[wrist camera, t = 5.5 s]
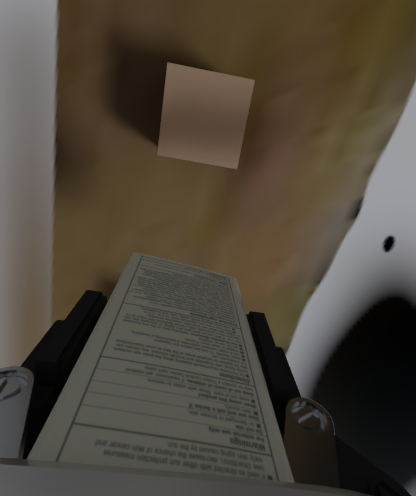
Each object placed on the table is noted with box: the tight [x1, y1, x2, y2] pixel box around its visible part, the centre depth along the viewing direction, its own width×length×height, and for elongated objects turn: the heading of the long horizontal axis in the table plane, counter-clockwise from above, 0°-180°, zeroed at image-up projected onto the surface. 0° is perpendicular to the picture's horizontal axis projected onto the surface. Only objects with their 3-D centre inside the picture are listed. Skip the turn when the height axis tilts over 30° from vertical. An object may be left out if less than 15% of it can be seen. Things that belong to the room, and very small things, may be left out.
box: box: [27, 252, 294, 483], centre depth 9 cm, size 5×4×11 cm
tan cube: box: [157, 62, 255, 169], centre depth 20 cm, size 5×5×5 cm
